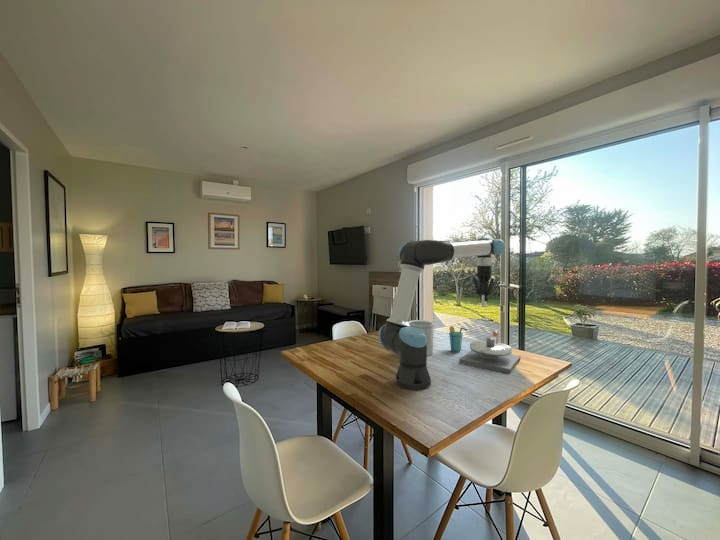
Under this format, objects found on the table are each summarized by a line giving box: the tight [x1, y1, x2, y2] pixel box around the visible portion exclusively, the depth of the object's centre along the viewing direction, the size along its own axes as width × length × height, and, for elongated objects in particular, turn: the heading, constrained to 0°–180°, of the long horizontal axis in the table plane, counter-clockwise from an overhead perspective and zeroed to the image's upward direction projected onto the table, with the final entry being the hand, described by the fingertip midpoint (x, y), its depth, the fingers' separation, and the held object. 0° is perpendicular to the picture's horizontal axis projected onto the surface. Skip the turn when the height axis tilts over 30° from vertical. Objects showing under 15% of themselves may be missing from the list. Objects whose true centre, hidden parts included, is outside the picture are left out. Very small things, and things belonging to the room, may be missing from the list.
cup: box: [448, 325, 468, 353], centre depth 175 cm, size 14×8×15 cm, turn 30°
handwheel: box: [469, 330, 513, 356], centre depth 158 cm, size 20×20×8 cm
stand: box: [458, 349, 522, 374], centre depth 159 cm, size 24×24×6 cm
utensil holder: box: [408, 319, 435, 357], centre depth 174 cm, size 15×15×18 cm
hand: (484, 306), depth 172 cm, fingers closed
